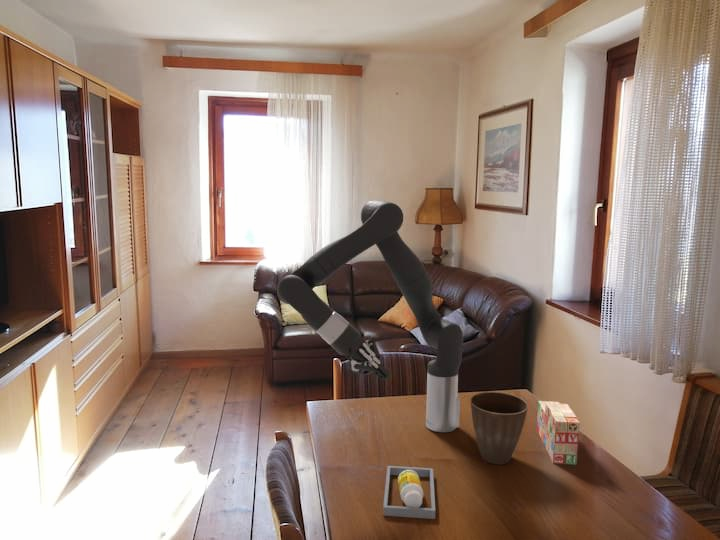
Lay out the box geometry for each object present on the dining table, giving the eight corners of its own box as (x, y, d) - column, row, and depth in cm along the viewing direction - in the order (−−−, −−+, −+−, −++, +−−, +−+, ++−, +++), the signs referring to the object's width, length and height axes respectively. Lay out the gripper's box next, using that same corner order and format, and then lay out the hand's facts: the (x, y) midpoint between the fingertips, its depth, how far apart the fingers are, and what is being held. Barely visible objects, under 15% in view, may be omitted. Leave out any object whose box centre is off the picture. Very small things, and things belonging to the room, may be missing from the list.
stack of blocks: (536, 429, 169) (538, 390, 167) (557, 430, 169) (559, 391, 167) (552, 464, 148) (555, 420, 146) (577, 465, 148) (580, 421, 146)
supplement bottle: (412, 492, 135) (418, 516, 126) (393, 483, 135) (397, 506, 125) (423, 474, 135) (429, 496, 125) (403, 465, 134) (408, 487, 125)
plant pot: (534, 457, 151) (537, 402, 149) (507, 478, 141) (510, 418, 138) (486, 440, 161) (488, 387, 159) (457, 458, 151) (459, 402, 148)
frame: (387, 473, 143) (387, 465, 142) (432, 475, 142) (432, 468, 141) (383, 515, 124) (383, 507, 124) (435, 519, 123) (435, 510, 123)
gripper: (336, 340, 136) (387, 387, 137) (355, 311, 146) (403, 355, 148) (319, 354, 140) (369, 400, 141) (339, 326, 151) (386, 368, 152)
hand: (386, 377), depth 144 cm, fingers closed
